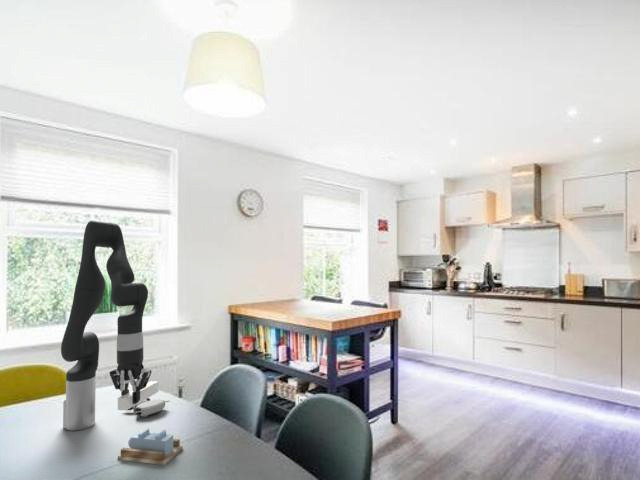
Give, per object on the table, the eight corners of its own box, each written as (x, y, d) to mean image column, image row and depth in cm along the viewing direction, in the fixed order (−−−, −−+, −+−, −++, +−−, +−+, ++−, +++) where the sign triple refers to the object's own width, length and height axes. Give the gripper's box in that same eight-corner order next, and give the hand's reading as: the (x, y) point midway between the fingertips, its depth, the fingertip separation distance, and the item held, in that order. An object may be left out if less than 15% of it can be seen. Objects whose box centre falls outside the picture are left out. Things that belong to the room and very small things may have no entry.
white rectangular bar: (117, 409, 118) (117, 398, 118) (150, 391, 133) (150, 381, 134) (126, 410, 117) (126, 398, 117) (158, 391, 133) (158, 381, 133)
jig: (117, 459, 118) (117, 449, 118) (138, 444, 127) (138, 434, 127) (164, 465, 115) (164, 454, 115) (182, 448, 124) (182, 439, 124)
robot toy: (120, 415, 152) (142, 421, 144) (119, 403, 153) (141, 409, 144) (149, 405, 162) (171, 410, 154) (148, 394, 163) (170, 398, 154)
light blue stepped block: (125, 451, 121) (125, 432, 121) (134, 445, 125) (134, 427, 125) (165, 456, 118) (165, 437, 118) (173, 449, 122) (173, 431, 122)
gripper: (157, 344, 124) (158, 399, 124) (119, 344, 127) (119, 397, 126) (142, 350, 117) (143, 408, 116) (101, 349, 120) (102, 406, 119)
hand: (130, 402), depth 121 cm, fingers closed on white rectangular bar, 3 cm apart
